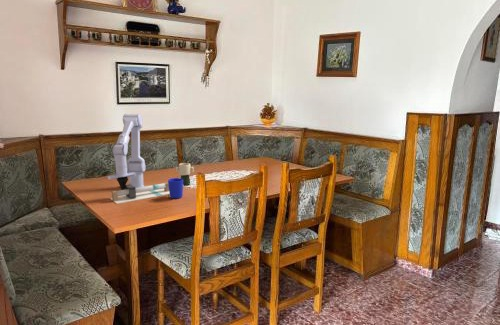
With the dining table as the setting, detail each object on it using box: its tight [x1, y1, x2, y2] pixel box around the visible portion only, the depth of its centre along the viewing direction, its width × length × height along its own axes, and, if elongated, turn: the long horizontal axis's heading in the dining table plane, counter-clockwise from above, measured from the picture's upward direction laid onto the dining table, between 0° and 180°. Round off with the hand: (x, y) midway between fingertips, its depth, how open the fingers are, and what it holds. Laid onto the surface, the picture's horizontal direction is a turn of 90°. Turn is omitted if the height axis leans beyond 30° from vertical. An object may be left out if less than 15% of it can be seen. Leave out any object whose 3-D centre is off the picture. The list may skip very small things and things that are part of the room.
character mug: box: [175, 162, 195, 186], centre depth 246 cm, size 11×7×13 cm, turn 87°
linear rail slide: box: [109, 181, 170, 205], centre depth 222 cm, size 12×32×5 cm, turn 126°
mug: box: [167, 177, 184, 200], centre depth 221 cm, size 8×12×10 cm
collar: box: [125, 183, 136, 199], centre depth 218 cm, size 8×3×6 cm, turn 36°
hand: (123, 190), depth 219 cm, fingers closed
